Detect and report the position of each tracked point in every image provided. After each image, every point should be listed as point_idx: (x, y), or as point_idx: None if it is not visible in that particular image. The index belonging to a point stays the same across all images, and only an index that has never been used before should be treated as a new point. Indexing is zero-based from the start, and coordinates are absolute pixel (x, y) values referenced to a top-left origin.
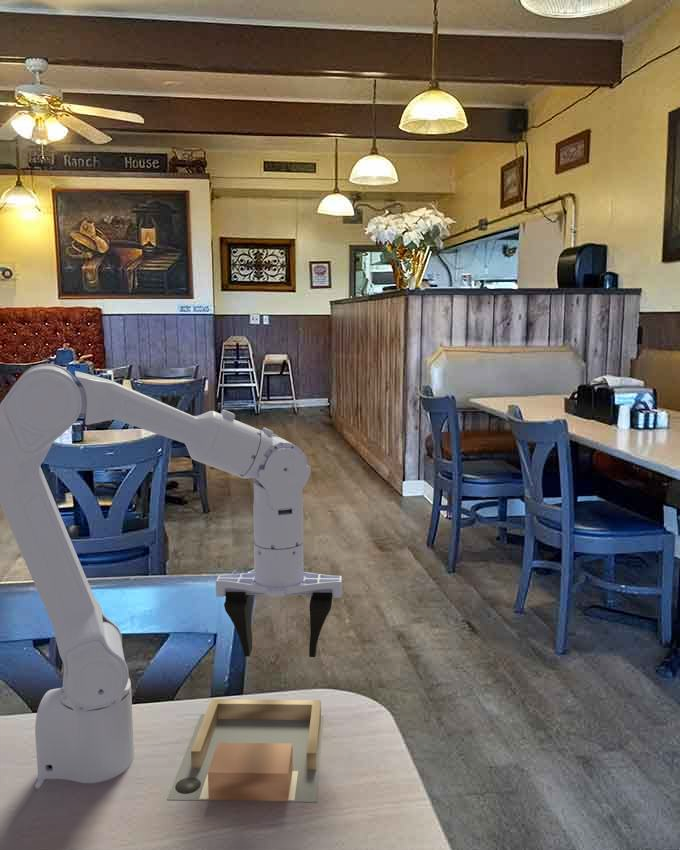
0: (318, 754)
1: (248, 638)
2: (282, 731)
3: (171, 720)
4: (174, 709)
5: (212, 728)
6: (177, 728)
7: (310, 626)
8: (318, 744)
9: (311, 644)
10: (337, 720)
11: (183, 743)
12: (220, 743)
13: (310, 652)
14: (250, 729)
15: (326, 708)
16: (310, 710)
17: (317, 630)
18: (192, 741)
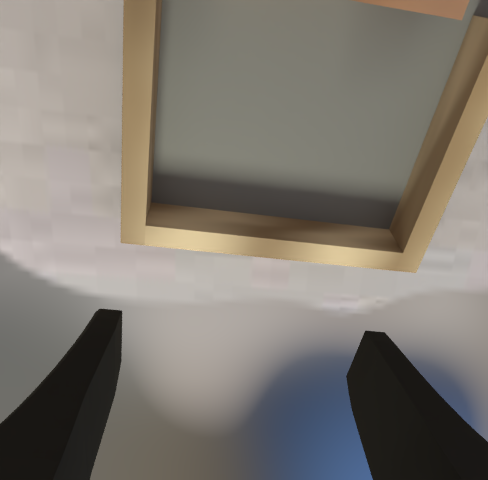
0: None
1: (389, 395)
2: (232, 162)
3: (484, 247)
4: (469, 284)
5: (420, 174)
6: (478, 218)
7: (72, 427)
8: None
9: (96, 347)
10: (88, 212)
11: (477, 160)
12: (454, 12)
13: (111, 322)
14: (315, 179)
15: (119, 259)
16: (153, 217)
17: (38, 405)
18: None
